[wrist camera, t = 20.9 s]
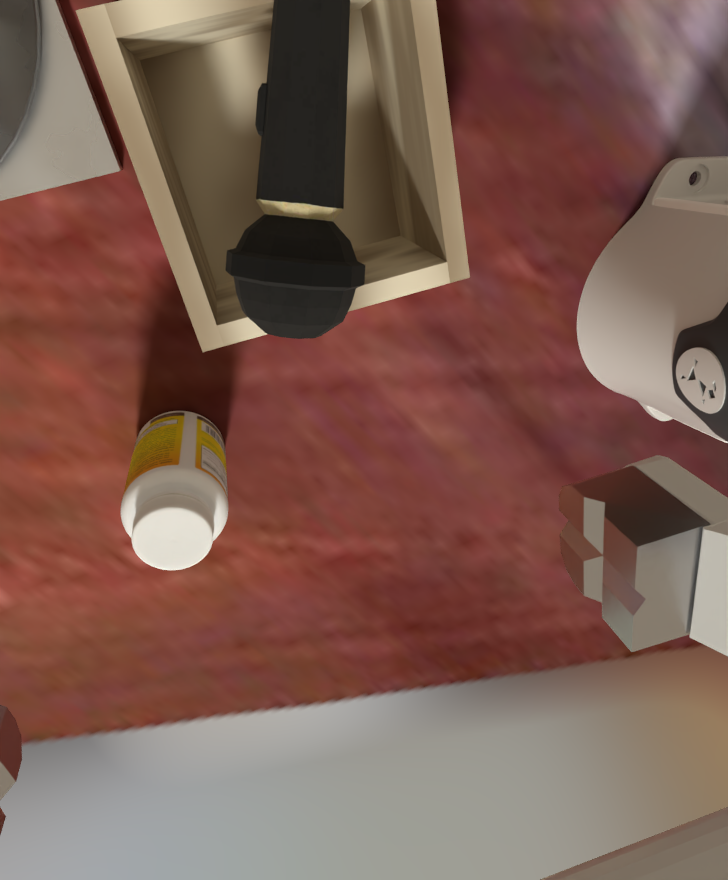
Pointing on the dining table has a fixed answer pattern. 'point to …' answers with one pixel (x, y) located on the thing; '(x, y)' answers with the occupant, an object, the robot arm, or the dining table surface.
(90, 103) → the base
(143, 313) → the dining table surface
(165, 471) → the supplement bottle
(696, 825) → the robot arm
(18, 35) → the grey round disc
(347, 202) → the open wooden box
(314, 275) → the microphone
